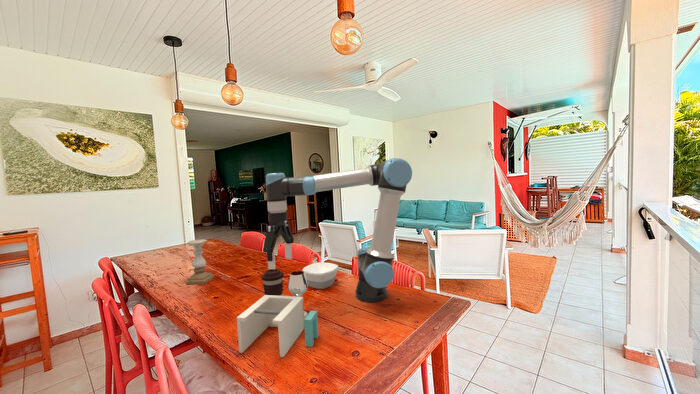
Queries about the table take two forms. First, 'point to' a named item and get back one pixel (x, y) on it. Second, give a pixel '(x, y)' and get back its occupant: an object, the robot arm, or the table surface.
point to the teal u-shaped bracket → (311, 328)
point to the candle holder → (199, 265)
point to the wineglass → (298, 284)
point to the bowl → (320, 274)
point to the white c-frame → (272, 321)
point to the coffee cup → (273, 282)
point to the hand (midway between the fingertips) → (280, 263)
